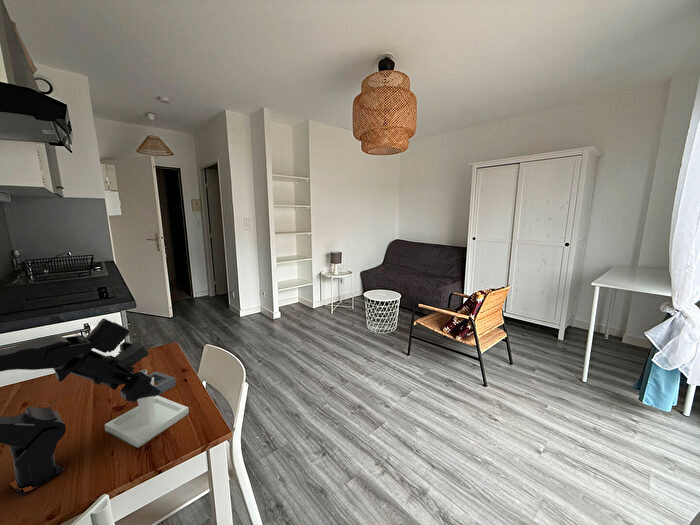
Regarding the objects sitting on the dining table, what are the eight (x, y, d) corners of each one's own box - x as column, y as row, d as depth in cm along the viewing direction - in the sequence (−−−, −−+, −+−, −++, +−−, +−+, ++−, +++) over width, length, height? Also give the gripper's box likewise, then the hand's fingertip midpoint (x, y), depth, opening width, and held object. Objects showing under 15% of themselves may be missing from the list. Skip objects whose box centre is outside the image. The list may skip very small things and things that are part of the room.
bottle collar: (175, 385, 96) (175, 377, 96) (145, 402, 87) (144, 393, 87) (156, 378, 100) (156, 371, 100) (125, 394, 91) (124, 385, 90)
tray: (188, 413, 82) (188, 407, 82) (137, 447, 70) (137, 440, 69) (157, 401, 88) (157, 395, 88) (105, 431, 75) (104, 424, 75)
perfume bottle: (159, 413, 81) (155, 365, 79) (154, 423, 77) (150, 373, 75) (140, 417, 80) (135, 368, 78) (135, 427, 76) (129, 376, 74)
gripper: (139, 346, 67) (188, 370, 78) (110, 329, 77) (157, 352, 87) (100, 393, 61) (159, 411, 72) (74, 368, 71) (129, 387, 82)
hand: (151, 387), depth 79 cm, fingers open, 9 cm apart
